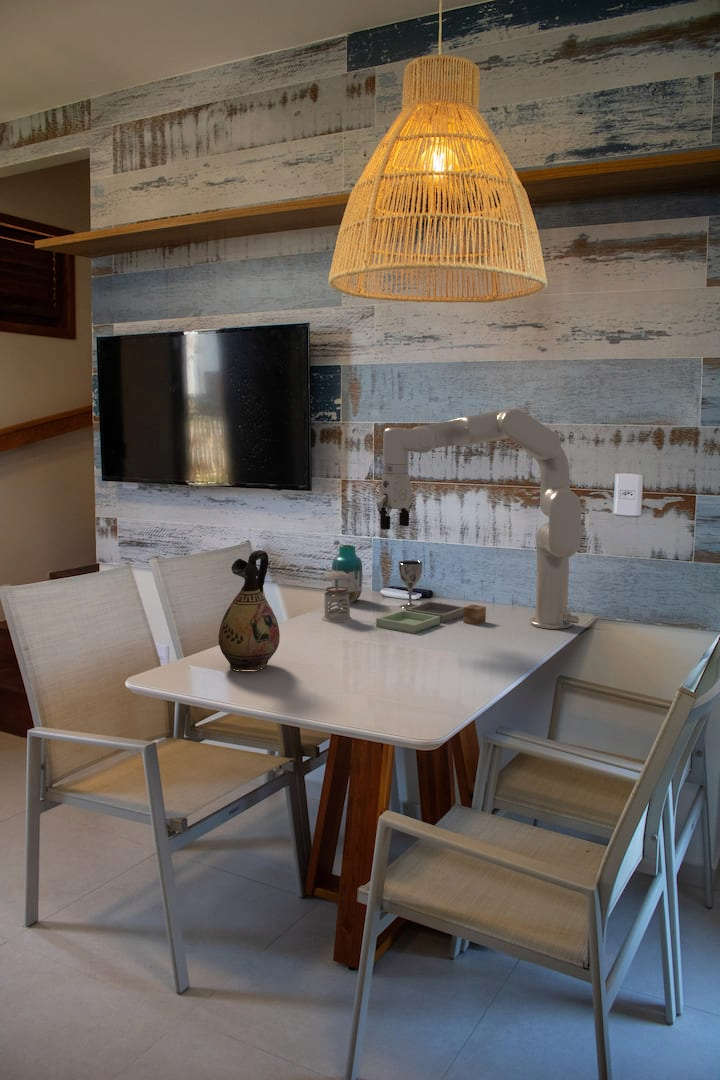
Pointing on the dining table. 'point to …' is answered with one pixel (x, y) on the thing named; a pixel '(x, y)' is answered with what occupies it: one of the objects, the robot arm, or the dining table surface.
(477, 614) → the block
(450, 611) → the brown square tray
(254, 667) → the ceramic jug
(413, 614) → the tray
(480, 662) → the dining table surface
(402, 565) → the wine glass
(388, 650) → the dining table surface
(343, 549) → the vase
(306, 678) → the dining table surface
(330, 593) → the french press
